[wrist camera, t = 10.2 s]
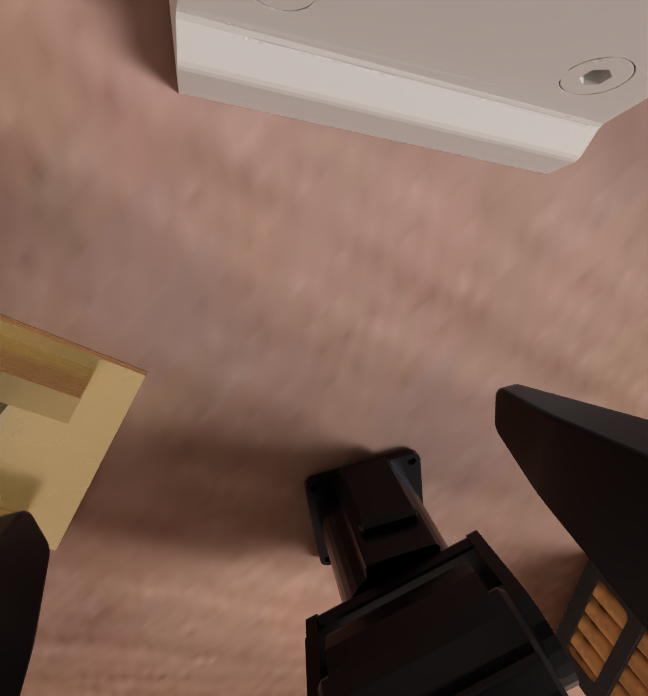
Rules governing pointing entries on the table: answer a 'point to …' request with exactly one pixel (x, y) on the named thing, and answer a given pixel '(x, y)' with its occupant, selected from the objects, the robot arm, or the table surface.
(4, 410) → the bar
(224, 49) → the white rounded housing
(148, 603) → the table surface
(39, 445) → the strike pocket
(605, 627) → the ammunition clip
